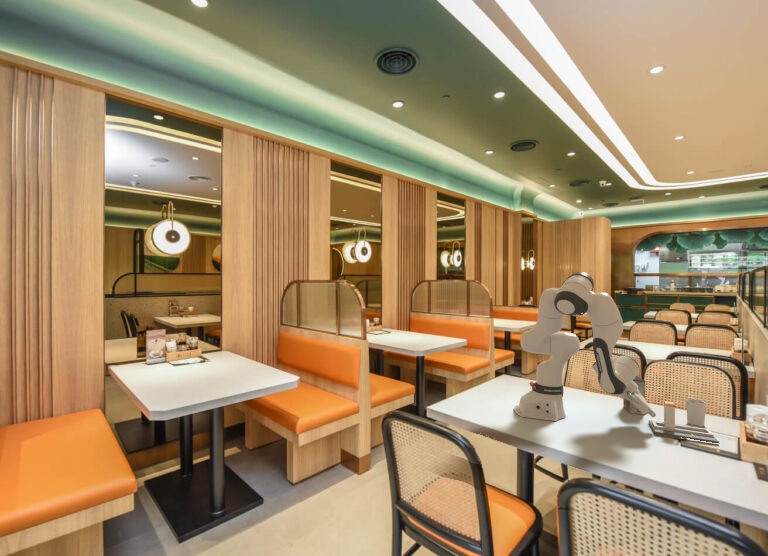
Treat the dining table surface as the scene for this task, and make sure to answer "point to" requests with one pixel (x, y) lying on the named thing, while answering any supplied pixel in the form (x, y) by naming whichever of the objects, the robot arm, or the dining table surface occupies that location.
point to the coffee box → (641, 387)
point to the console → (682, 432)
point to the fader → (669, 414)
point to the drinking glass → (695, 412)
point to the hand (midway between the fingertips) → (654, 415)
